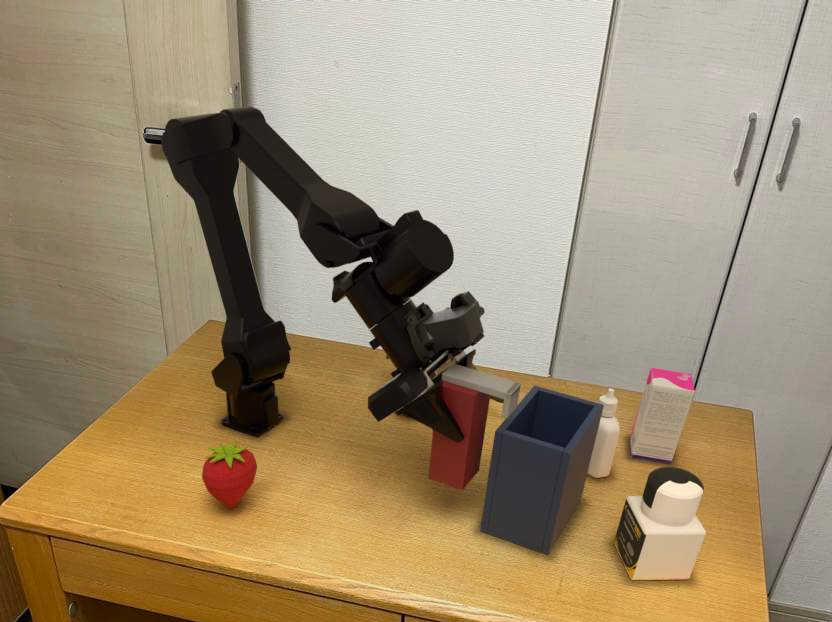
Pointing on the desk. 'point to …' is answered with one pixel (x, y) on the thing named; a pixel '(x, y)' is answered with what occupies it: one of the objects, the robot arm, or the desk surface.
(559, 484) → the storage box
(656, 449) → the supplement box
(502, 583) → the desk surface
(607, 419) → the eye dropper bottle
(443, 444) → the red post with hook
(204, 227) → the robot arm
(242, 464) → the strawberry
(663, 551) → the medicine bottle
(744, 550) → the desk surface
